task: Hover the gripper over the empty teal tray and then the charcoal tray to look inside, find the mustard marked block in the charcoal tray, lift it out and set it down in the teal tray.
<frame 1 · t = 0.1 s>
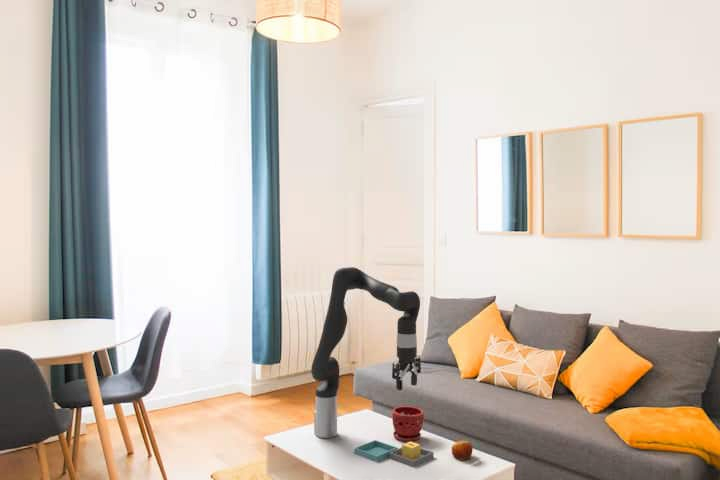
hand: (406, 387, 228), 29 cm above the table, tool pointing down, fingers open, 8 cm apart
plant pot: (407, 438, 255), on the table
tray 1: (376, 453, 238), on the table
marked block: (411, 457, 234), resting on tray 2
fruit: (462, 458, 234), on the table
tray 2: (411, 458, 234), on the table
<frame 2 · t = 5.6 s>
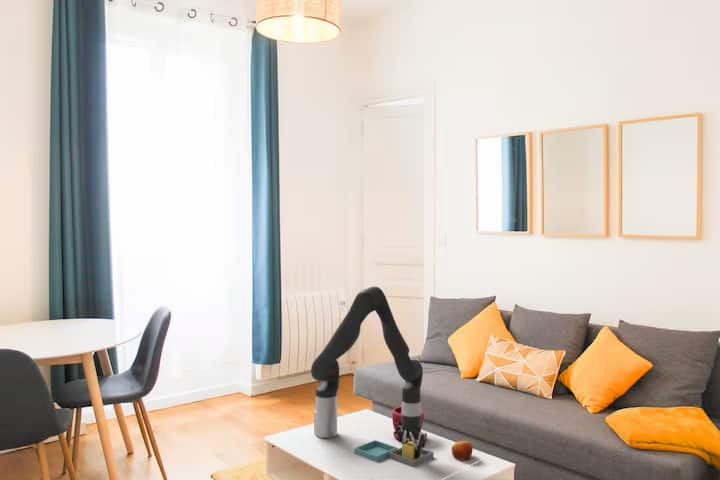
hand: (411, 456, 233), 1 cm above the table, tool pointing down, fingers closed on marked block, 5 cm apart
marked block: (411, 457, 234), resting on tray 2, touching gripper
everything else where it was.
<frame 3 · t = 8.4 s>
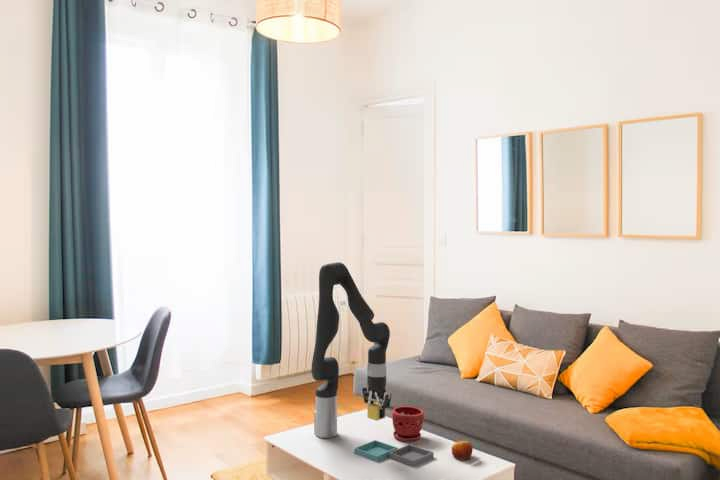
hand: (376, 416, 238), 15 cm above the table, tool pointing down, fingers closed on marked block, 5 cm apart
marked block: (376, 417, 238), point 14 cm above the table, touching gripper
everything else where it was.
when the fingers open (2 cm above the table, at t = 11.4 s): marked block drops 1 cm, resting on tray 1.
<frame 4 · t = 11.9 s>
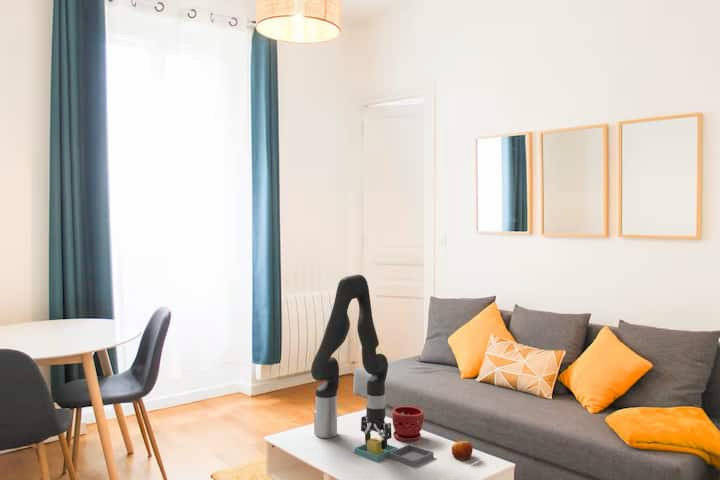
hand: (376, 445, 238), 3 cm above the table, tool pointing down, fingers open, 8 cm apart
marked block: (376, 452, 238), resting on tray 1
everything else where it was.
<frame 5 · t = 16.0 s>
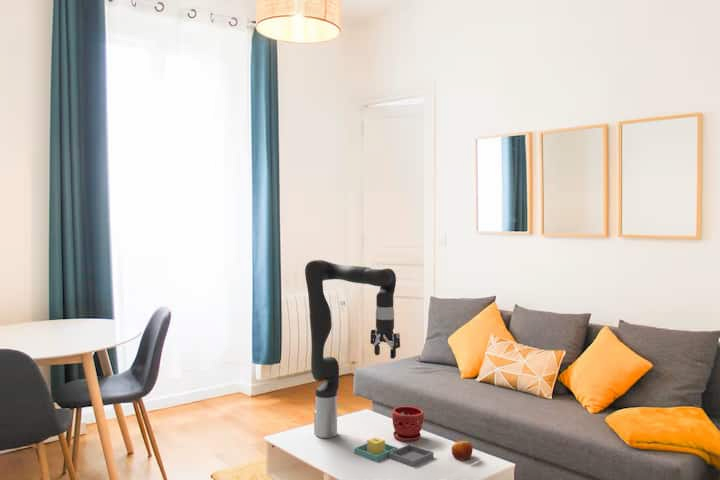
hand: (385, 356, 248), 36 cm above the table, tool pointing down, fingers open, 8 cm apart
nothing on the table moved.
at the end: marked block inside the target area on the tray 1 (0.0 cm from its centre), point 0.4 cm above the tray 1's base; the gripper is holding nothing; marked block tilted 0° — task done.
